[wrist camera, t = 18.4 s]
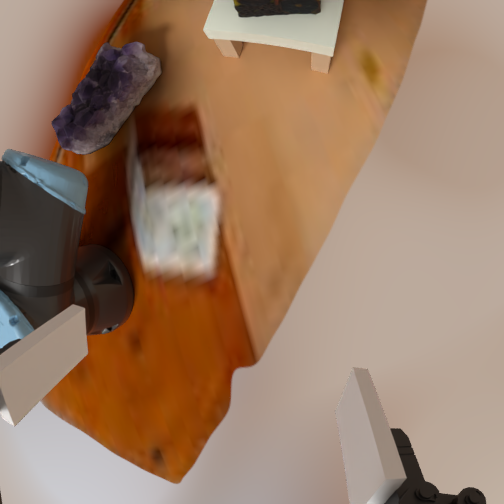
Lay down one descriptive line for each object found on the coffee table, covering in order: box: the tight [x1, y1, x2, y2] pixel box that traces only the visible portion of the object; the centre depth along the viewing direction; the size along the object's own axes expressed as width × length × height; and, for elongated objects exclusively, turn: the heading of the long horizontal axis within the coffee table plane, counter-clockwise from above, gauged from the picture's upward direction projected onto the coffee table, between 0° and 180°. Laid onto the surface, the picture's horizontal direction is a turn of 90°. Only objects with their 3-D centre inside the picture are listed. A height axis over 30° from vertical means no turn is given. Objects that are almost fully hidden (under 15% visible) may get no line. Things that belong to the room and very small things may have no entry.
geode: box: [52, 42, 162, 155], centre depth 40 cm, size 20×12×10 cm, turn 144°
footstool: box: [203, 0, 344, 73], centre depth 34 cm, size 16×16×9 cm
